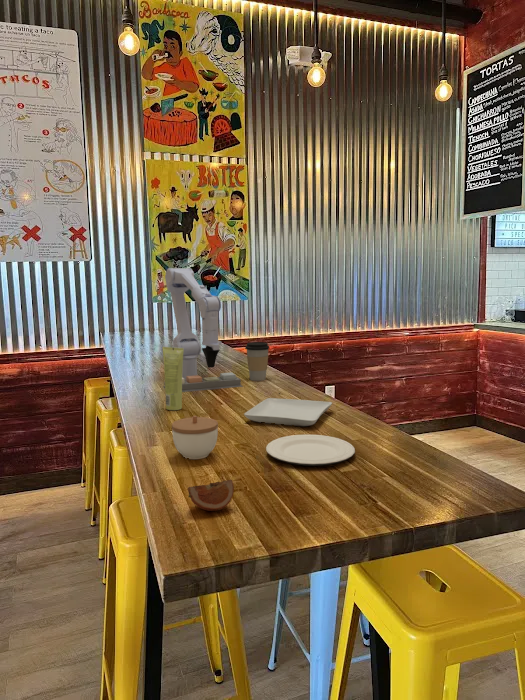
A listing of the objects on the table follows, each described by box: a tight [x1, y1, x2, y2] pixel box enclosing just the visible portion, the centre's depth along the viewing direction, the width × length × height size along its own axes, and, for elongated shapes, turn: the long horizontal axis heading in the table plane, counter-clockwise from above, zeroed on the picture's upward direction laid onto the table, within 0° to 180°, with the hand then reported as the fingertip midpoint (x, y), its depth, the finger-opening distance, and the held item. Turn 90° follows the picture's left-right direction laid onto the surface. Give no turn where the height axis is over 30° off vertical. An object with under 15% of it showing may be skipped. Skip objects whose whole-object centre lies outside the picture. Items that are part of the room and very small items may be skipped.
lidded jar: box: [171, 415, 219, 460], centre depth 127 cm, size 11×11×9 cm
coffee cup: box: [244, 341, 271, 382], centre depth 209 cm, size 9×9×15 cm
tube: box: [162, 346, 184, 411], centre depth 169 cm, size 6×5×20 cm
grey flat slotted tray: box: [162, 376, 244, 393], centre depth 198 cm, size 12×27×3 cm, turn 112°
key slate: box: [219, 372, 237, 380], centre depth 201 cm, size 5×5×2 cm
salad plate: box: [243, 397, 333, 427], centre depth 159 cm, size 21×21×3 cm
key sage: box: [202, 376, 219, 382], centre depth 199 cm, size 5×5×2 cm
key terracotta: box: [186, 374, 203, 383], centre depth 196 cm, size 5×5×2 cm
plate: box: [265, 434, 356, 467], centre depth 128 cm, size 21×21×2 cm
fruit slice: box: [187, 479, 235, 512], centre depth 99 cm, size 8×7×5 cm
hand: (210, 367), depth 198 cm, fingers closed
